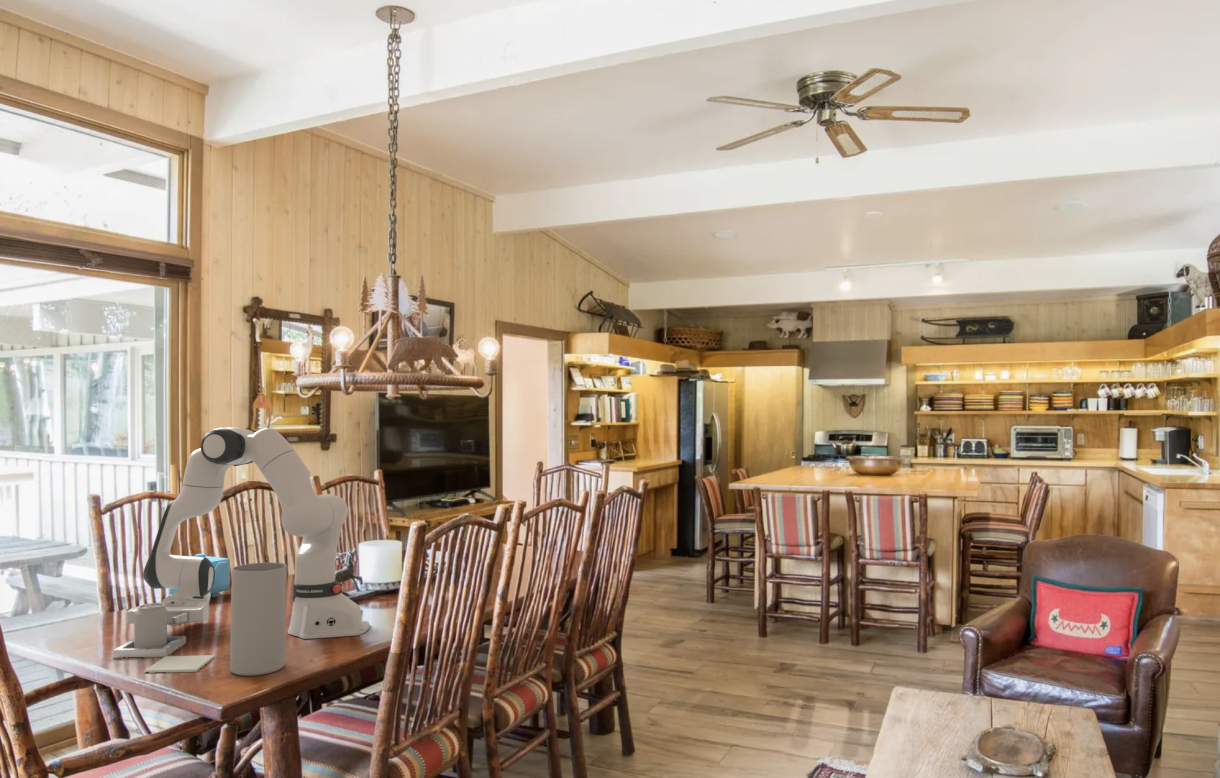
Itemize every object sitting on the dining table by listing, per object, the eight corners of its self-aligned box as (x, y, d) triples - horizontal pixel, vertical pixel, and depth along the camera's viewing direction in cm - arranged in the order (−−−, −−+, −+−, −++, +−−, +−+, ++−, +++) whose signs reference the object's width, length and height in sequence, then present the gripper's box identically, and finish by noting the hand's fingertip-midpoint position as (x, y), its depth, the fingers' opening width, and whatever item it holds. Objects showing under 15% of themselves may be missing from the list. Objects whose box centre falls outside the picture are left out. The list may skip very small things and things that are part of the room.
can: (152, 655, 216) (153, 608, 217) (127, 653, 218) (128, 607, 218) (172, 647, 224) (173, 602, 224) (148, 645, 225) (149, 601, 225)
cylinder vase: (281, 659, 214) (283, 561, 215) (287, 672, 203) (289, 569, 204) (228, 665, 208) (230, 564, 209) (231, 679, 197) (233, 573, 198)
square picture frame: (185, 643, 228) (186, 635, 228) (165, 656, 215) (166, 649, 215) (135, 644, 226) (135, 636, 226) (112, 658, 213) (112, 650, 214)
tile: (214, 657, 215) (214, 655, 215) (196, 671, 203) (196, 669, 203) (165, 658, 213) (165, 656, 213) (144, 673, 202) (144, 670, 202)
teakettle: (231, 590, 296) (232, 548, 297) (226, 601, 279) (227, 557, 279) (172, 593, 290) (173, 551, 291) (162, 605, 272) (163, 560, 273)
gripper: (139, 598, 237) (115, 610, 223) (214, 597, 239) (195, 608, 225) (138, 621, 236) (114, 633, 223) (213, 619, 239) (194, 632, 225)
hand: (156, 621), depth 224 cm, fingers open, 8 cm apart
